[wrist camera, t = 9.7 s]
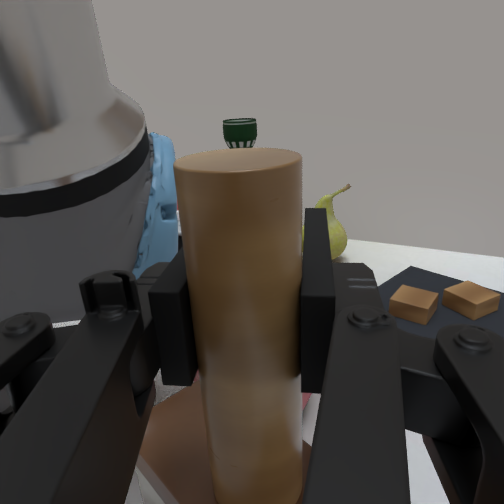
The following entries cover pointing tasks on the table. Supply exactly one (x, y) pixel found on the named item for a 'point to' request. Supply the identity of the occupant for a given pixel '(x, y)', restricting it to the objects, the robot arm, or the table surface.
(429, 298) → the chip
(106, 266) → the robot arm
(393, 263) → the table surface
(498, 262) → the table surface
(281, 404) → the brush
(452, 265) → the table surface
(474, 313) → the chip
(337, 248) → the fruit
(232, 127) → the flashlight
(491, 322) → the mat
